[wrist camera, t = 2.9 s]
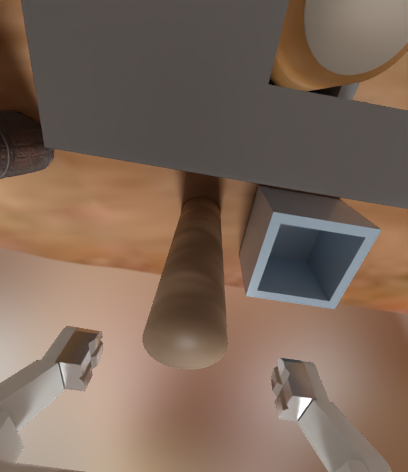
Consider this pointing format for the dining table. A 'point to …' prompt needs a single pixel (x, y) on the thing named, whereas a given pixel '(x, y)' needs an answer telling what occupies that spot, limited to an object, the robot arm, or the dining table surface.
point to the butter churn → (21, 145)
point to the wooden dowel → (191, 293)
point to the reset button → (339, 42)
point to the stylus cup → (303, 247)
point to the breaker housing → (205, 97)
